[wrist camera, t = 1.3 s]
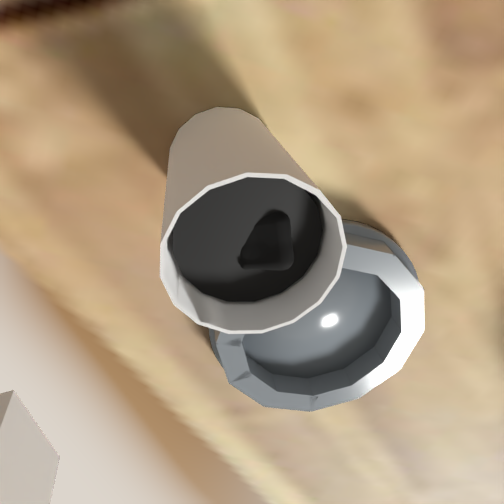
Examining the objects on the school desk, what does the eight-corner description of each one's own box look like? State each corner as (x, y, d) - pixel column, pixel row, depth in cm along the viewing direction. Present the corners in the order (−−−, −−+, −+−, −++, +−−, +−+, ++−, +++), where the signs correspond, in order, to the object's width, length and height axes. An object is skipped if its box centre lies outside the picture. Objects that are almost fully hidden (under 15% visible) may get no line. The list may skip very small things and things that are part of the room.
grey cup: (282, 89, 24) (349, 158, 15) (288, 208, 27) (345, 319, 19) (147, 106, 23) (139, 187, 14) (171, 226, 26) (176, 348, 18)
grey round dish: (181, 253, 27) (183, 276, 25) (412, 193, 28) (432, 210, 26) (234, 408, 35) (238, 436, 33) (415, 359, 35) (431, 383, 33)
